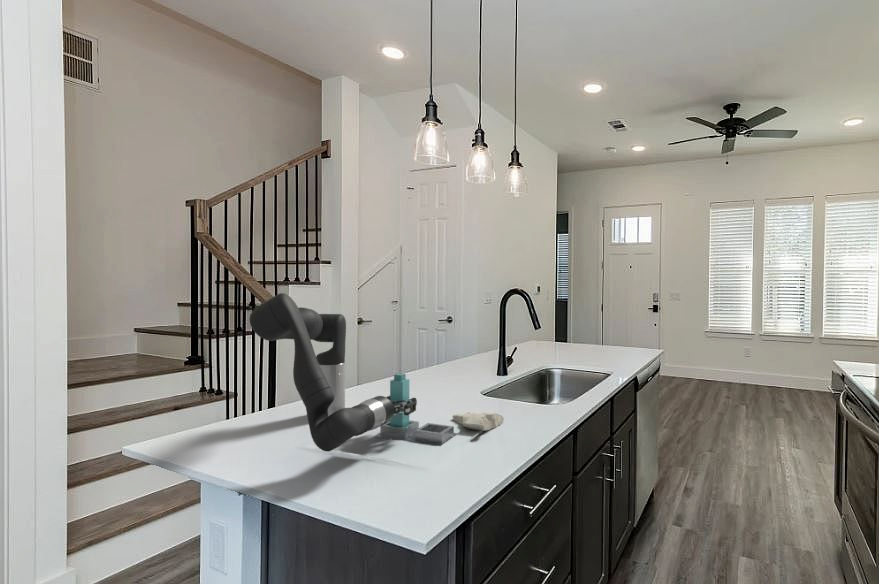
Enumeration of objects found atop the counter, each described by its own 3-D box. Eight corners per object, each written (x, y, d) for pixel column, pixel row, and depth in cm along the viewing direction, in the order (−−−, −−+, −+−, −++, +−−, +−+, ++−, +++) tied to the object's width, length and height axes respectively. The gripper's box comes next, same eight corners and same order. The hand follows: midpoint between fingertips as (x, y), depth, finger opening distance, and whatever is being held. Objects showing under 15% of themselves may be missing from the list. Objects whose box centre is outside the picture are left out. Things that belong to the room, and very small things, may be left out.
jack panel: (375, 440, 145) (375, 427, 145) (396, 428, 156) (396, 416, 156) (440, 450, 137) (440, 436, 137) (458, 437, 148) (458, 424, 148)
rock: (435, 433, 153) (481, 436, 145) (435, 417, 153) (480, 419, 146) (469, 421, 171) (511, 423, 164) (468, 407, 172) (510, 409, 164)
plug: (390, 433, 148) (390, 374, 147) (397, 429, 151) (397, 372, 151) (402, 435, 146) (402, 376, 145) (409, 431, 150) (409, 373, 149)
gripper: (397, 402, 132) (426, 389, 147) (349, 396, 138) (382, 384, 153) (397, 431, 133) (425, 415, 148) (349, 424, 139) (382, 410, 154)
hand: (403, 399), depth 150 cm, fingers open, 7 cm apart
